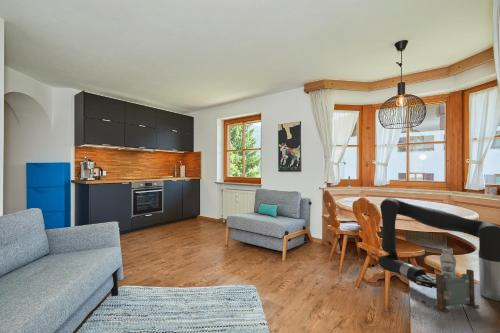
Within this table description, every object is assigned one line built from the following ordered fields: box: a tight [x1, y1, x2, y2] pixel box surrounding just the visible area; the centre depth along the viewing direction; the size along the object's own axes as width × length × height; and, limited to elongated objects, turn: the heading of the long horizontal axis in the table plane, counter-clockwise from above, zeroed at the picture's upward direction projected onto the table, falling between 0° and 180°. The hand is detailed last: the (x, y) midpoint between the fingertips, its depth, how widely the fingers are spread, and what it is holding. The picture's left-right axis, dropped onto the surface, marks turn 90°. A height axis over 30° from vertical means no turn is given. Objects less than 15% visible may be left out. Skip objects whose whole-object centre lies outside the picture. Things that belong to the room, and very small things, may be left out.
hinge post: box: [464, 269, 480, 309], centre depth 108 cm, size 4×4×15 cm
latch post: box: [433, 272, 451, 314], centre depth 105 cm, size 4×4×15 cm
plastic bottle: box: [439, 246, 457, 279], centre depth 123 cm, size 6×7×20 cm
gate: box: [444, 273, 470, 308], centre depth 106 cm, size 12×2×12 cm, turn 102°
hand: (446, 289), depth 108 cm, fingers closed
